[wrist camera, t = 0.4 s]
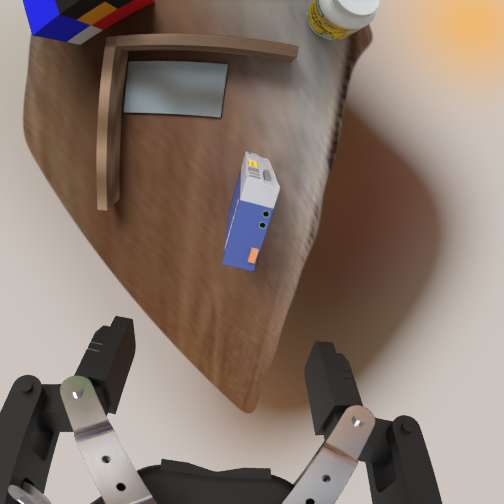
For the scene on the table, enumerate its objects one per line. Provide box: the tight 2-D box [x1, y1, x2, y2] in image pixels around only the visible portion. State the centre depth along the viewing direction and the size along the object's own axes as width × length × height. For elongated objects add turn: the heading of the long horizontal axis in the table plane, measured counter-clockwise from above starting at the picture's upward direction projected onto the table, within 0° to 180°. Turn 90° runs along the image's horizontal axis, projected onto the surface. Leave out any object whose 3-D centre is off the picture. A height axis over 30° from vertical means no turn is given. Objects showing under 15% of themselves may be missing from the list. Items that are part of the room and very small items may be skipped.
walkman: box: [222, 151, 280, 271], centre depth 30 cm, size 8×3×12 cm, turn 164°
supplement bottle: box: [307, 0, 380, 40], centre depth 22 cm, size 5×5×10 cm
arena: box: [97, 34, 298, 210], centre depth 30 cm, size 19×19×4 cm
